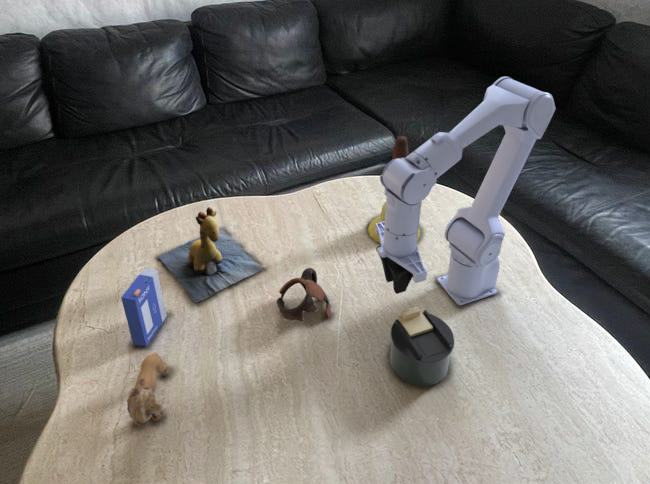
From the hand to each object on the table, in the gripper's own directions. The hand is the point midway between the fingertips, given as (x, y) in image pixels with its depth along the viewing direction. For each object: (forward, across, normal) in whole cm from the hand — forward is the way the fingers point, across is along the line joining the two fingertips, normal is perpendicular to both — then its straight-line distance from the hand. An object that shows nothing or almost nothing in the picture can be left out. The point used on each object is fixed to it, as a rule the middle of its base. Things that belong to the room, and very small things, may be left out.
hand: (395, 285), depth 93 cm
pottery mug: (+10, -10, -14) cm, 19 cm away
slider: (+3, +7, 0) cm, 8 cm away
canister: (+9, +10, 0) cm, 13 cm away
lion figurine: (+10, 0, -44) cm, 45 cm away
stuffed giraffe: (+10, -30, -29) cm, 42 cm away
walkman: (+10, -16, -43) cm, 47 cm away
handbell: (+10, -24, +14) cm, 30 cm away
